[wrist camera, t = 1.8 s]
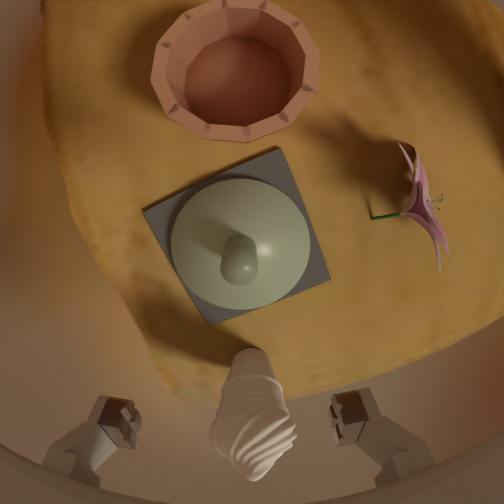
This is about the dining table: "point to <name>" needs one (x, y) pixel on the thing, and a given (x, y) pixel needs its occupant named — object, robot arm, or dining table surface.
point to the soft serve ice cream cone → (252, 416)
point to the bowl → (235, 70)
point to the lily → (422, 207)
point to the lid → (240, 244)
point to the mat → (261, 168)
